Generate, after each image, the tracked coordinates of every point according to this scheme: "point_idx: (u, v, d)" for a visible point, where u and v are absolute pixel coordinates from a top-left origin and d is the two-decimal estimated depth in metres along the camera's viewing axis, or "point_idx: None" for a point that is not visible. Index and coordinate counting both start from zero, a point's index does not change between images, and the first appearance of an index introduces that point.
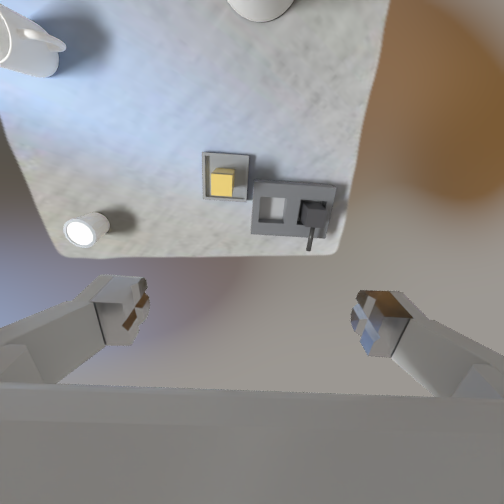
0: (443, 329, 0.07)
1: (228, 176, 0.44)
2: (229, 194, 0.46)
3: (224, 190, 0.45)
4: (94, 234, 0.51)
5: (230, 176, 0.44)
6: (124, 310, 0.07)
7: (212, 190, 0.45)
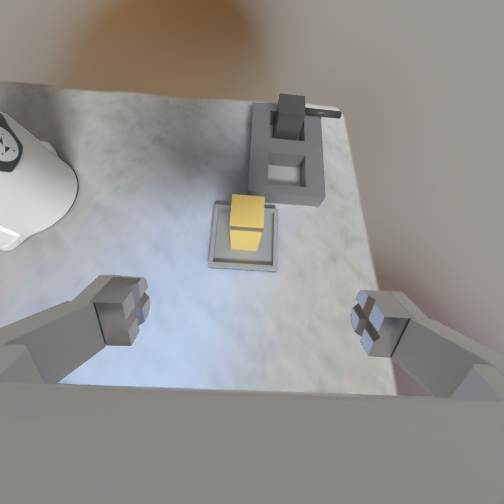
0: (443, 329, 0.07)
1: (233, 199, 0.28)
2: (261, 199, 0.28)
3: (255, 206, 0.28)
4: None
5: (233, 196, 0.28)
6: (124, 310, 0.07)
7: (256, 224, 0.27)
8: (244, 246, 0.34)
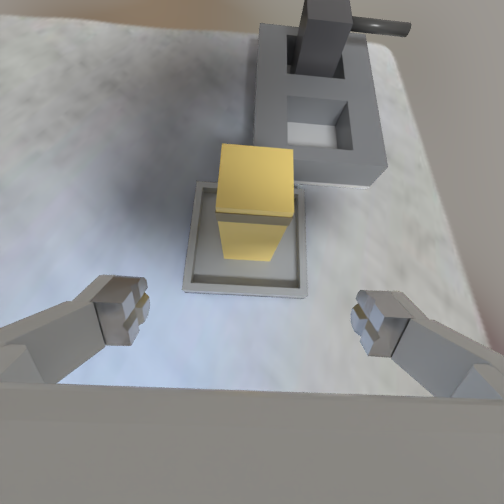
0: (443, 329, 0.07)
1: (225, 154, 0.13)
2: (286, 155, 0.13)
3: (273, 169, 0.13)
4: None
5: (225, 148, 0.13)
6: (124, 310, 0.07)
7: (277, 208, 0.12)
8: (249, 254, 0.19)
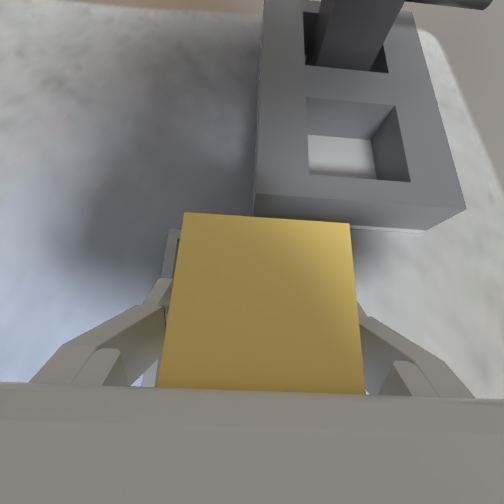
0: (377, 326, 0.07)
1: (191, 241, 0.05)
2: (335, 239, 0.06)
3: (307, 278, 0.05)
4: None
5: (192, 226, 0.05)
6: None
7: None
8: None
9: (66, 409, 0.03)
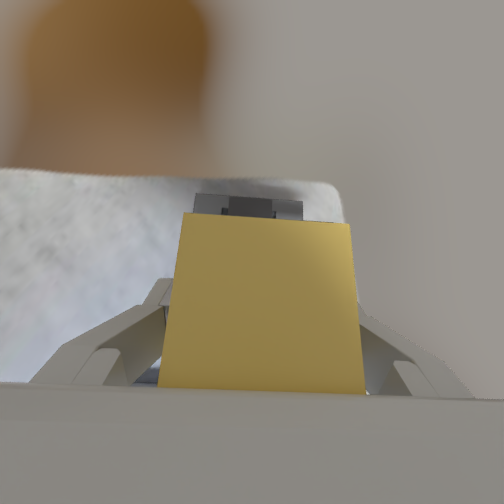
0: (377, 326, 0.07)
1: (191, 242, 0.05)
2: (335, 240, 0.06)
3: (307, 279, 0.05)
4: None
5: (192, 226, 0.05)
6: None
7: None
8: None
9: (66, 409, 0.03)
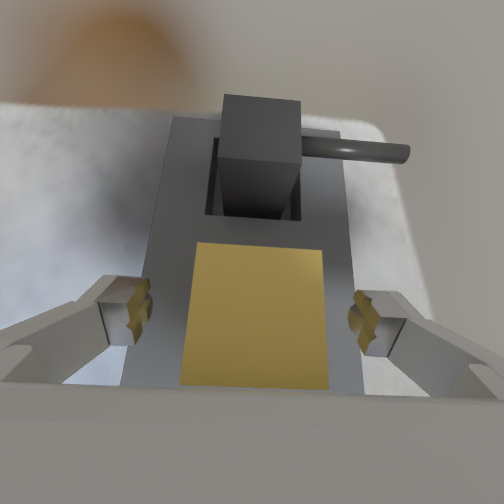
0: (439, 329, 0.07)
1: (203, 265, 0.07)
2: (310, 262, 0.07)
3: (288, 292, 0.07)
4: None
5: (203, 253, 0.07)
6: (128, 310, 0.07)
7: (296, 381, 0.06)
8: None
9: (66, 409, 0.03)
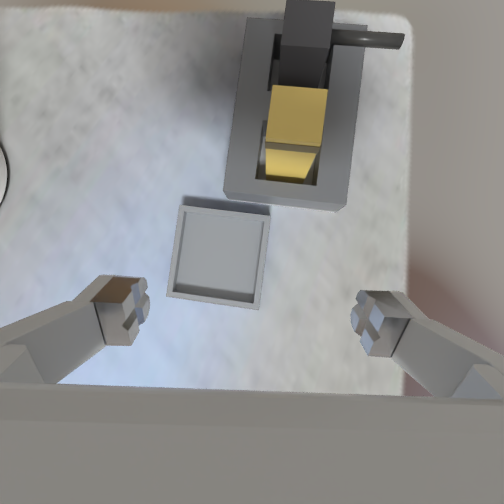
0: (443, 329, 0.07)
1: (275, 94, 0.17)
2: (321, 94, 0.17)
3: (310, 107, 0.17)
4: None
5: (275, 89, 0.17)
6: (124, 310, 0.07)
7: (309, 139, 0.17)
8: (285, 177, 0.24)
9: (66, 409, 0.03)
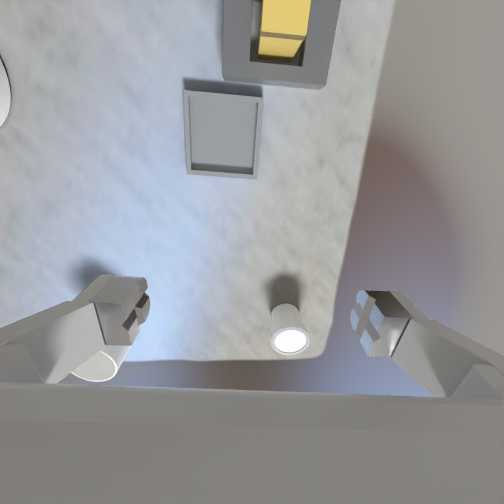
0: (443, 329, 0.07)
1: None
2: None
3: None
4: (292, 328, 0.40)
5: None
6: (124, 310, 0.07)
7: (296, 29, 0.21)
8: (276, 56, 0.27)
9: (66, 409, 0.03)
